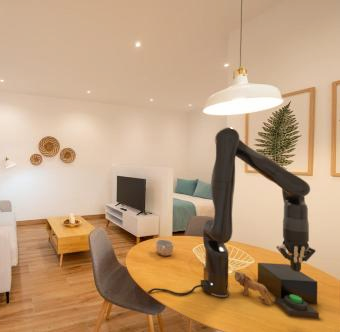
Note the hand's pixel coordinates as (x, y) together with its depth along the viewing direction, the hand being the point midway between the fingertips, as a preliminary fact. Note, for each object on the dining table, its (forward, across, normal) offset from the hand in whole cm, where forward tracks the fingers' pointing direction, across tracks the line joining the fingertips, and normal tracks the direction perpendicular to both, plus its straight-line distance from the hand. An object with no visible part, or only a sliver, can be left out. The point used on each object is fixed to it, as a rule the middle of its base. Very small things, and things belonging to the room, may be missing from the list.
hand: (295, 270), depth 86 cm
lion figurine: (+16, +12, -7) cm, 21 cm away
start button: (+12, 0, 0) cm, 12 cm away
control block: (+16, 0, 0) cm, 16 cm away
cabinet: (+16, -5, -12) cm, 21 cm away
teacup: (+16, +42, -47) cm, 65 cm away
